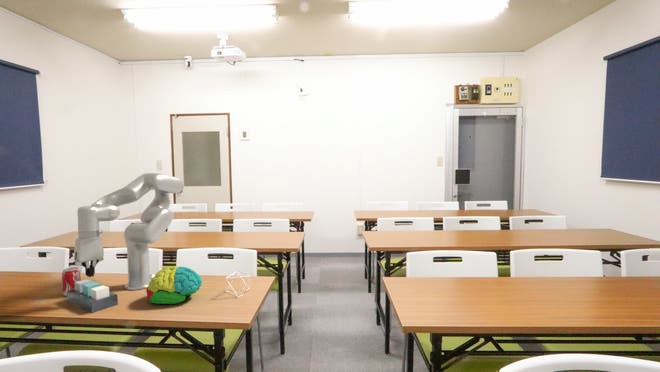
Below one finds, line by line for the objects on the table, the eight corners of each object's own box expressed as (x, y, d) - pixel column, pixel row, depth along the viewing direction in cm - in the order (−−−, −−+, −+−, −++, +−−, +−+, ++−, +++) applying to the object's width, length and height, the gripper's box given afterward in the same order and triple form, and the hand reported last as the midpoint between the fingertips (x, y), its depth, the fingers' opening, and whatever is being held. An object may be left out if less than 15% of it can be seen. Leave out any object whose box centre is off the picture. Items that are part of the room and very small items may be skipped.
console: (92, 294, 162) (92, 284, 162) (117, 304, 150) (117, 294, 149) (67, 301, 153) (66, 291, 153) (92, 313, 141) (91, 302, 141)
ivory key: (103, 296, 151) (103, 285, 151) (109, 298, 148) (109, 287, 148) (91, 300, 147) (90, 288, 146) (96, 302, 144) (96, 291, 144)
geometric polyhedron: (220, 296, 159) (219, 277, 158) (232, 288, 169) (231, 270, 169) (244, 299, 156) (244, 279, 155) (255, 290, 166) (255, 272, 166)
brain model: (209, 291, 164) (207, 260, 164) (191, 307, 145) (188, 272, 145) (162, 292, 166) (159, 262, 165) (137, 309, 147) (134, 274, 146)
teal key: (95, 292, 155) (95, 281, 154) (100, 294, 152) (100, 283, 152) (82, 296, 151) (82, 284, 150) (88, 298, 148) (87, 286, 148)
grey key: (87, 289, 159) (87, 279, 158) (92, 291, 156) (92, 280, 156) (75, 293, 155) (74, 282, 154) (80, 295, 152) (79, 284, 152)
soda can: (71, 297, 158) (69, 271, 157) (58, 296, 159) (57, 270, 159) (84, 291, 165) (83, 267, 164) (72, 290, 166) (71, 266, 166)
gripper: (103, 231, 158) (104, 270, 159) (64, 236, 145) (66, 279, 146) (111, 232, 154) (112, 273, 155) (72, 238, 141) (74, 282, 142)
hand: (90, 276), depth 151 cm, fingers closed
